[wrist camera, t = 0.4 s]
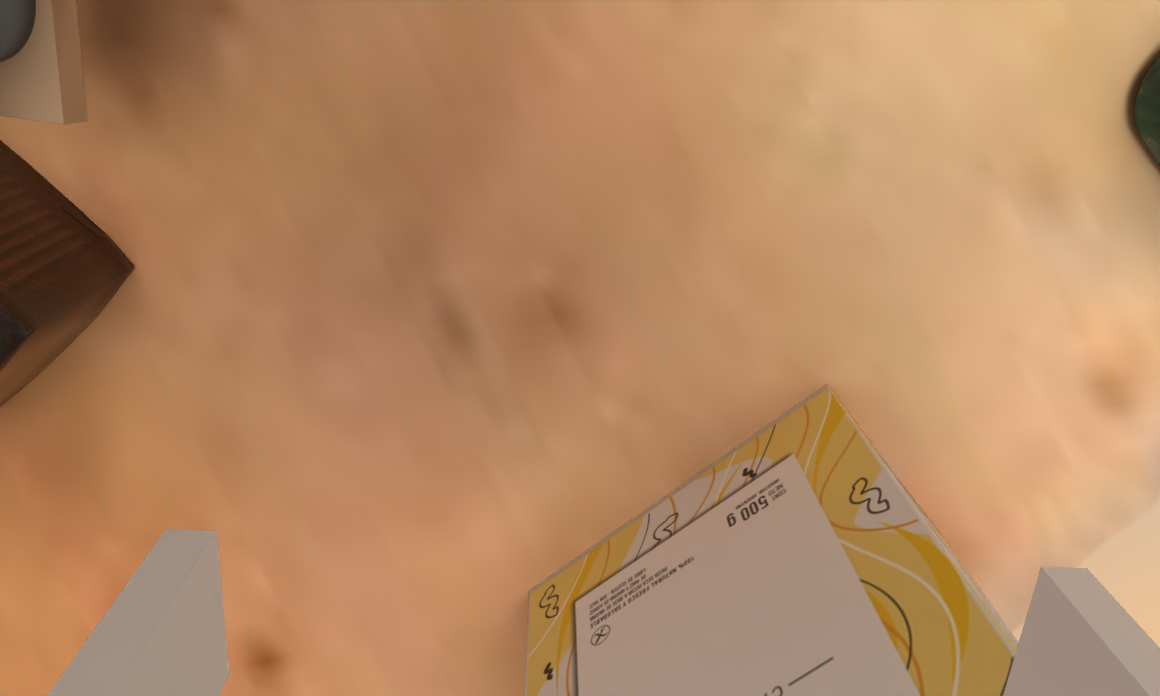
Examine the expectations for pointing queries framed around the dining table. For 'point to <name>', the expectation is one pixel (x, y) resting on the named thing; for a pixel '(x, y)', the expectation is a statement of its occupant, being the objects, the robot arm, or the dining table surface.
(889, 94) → the dining table surface
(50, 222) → the brown manual coffee grinder
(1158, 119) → the coffee jar
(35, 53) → the lever
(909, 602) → the pasta box
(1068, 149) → the dining table surface
